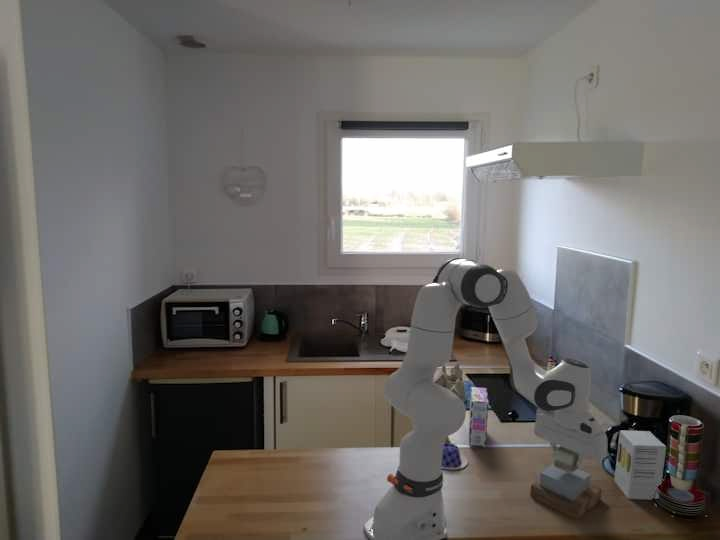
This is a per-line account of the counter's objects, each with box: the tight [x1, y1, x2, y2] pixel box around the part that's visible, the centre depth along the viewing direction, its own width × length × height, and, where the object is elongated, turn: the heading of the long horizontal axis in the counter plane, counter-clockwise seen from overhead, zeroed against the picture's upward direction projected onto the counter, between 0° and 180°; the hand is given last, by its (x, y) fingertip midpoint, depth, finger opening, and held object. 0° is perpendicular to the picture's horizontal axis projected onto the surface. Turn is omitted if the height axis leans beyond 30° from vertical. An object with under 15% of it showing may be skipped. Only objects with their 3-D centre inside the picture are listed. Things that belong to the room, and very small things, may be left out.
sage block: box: [553, 446, 581, 473], centre depth 147 cm, size 5×5×5 cm
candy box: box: [468, 386, 489, 448], centre depth 183 cm, size 14×6×16 cm, turn 168°
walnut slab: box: [529, 478, 603, 520], centre depth 149 cm, size 14×14×4 cm
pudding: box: [442, 442, 468, 470], centre depth 168 cm, size 12×12×5 cm
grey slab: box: [539, 462, 591, 501], centre depth 148 cm, size 10×10×4 cm
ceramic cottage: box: [434, 361, 468, 403], centre depth 217 cm, size 16×16×15 cm
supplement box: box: [613, 429, 667, 501], centre depth 152 cm, size 10×9×17 cm
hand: (567, 461), depth 147 cm, fingers closed on sage block, 5 cm apart
